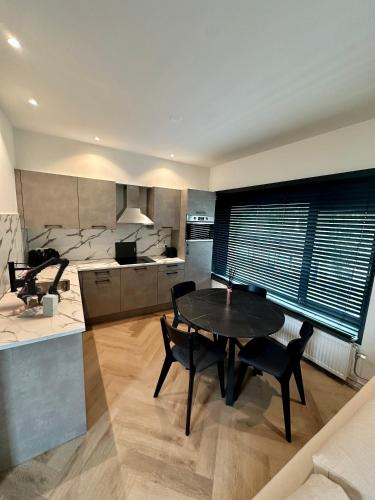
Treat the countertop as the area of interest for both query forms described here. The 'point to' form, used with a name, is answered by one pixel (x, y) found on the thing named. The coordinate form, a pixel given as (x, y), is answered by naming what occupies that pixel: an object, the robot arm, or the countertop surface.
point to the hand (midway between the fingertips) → (33, 304)
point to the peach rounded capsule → (21, 309)
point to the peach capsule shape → (16, 312)
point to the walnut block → (32, 303)
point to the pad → (27, 314)
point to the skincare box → (50, 305)
